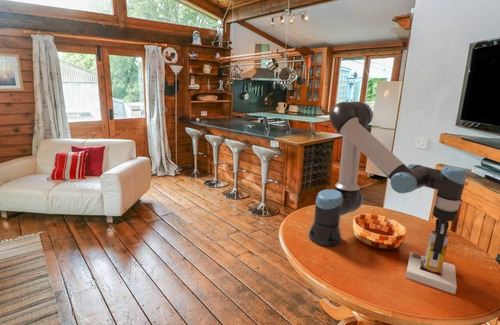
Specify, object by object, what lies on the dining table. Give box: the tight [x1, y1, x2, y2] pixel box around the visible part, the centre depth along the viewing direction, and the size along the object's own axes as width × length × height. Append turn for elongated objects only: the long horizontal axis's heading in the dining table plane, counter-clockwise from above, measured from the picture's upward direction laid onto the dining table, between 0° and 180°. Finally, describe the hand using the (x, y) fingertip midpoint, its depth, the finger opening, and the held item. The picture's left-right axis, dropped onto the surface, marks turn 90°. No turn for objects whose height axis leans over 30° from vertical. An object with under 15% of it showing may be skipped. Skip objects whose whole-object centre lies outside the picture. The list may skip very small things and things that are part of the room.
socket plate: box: [405, 251, 458, 295], centre depth 114 cm, size 16×16×4 cm
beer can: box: [424, 230, 450, 273], centre depth 112 cm, size 6×6×15 cm
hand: (433, 261), depth 113 cm, fingers closed on beer can, 6 cm apart
